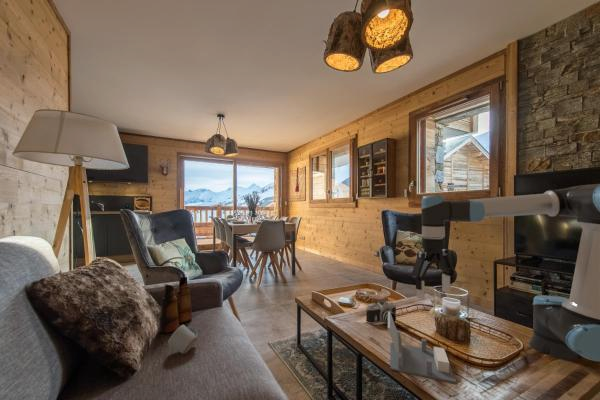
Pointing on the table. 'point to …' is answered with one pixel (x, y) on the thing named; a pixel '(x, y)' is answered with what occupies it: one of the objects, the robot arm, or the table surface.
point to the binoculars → (175, 307)
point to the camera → (380, 312)
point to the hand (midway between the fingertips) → (433, 295)
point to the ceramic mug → (183, 339)
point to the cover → (393, 332)
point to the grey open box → (418, 362)
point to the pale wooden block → (441, 359)
